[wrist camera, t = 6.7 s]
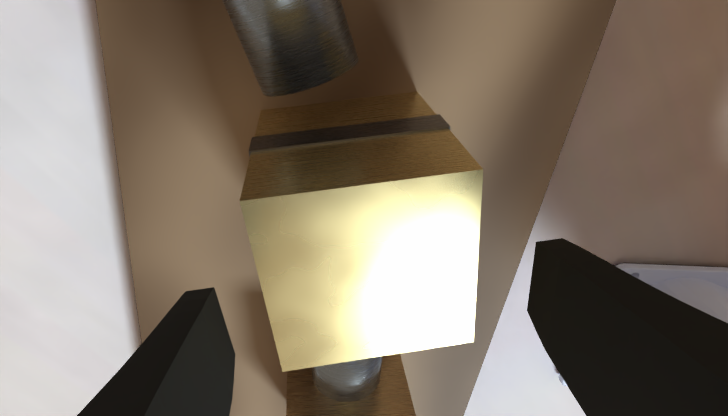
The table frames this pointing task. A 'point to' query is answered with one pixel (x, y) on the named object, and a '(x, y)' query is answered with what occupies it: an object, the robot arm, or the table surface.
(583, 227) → the table surface
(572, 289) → the robot arm
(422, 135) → the tan wooden block
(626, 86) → the table surface
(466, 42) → the board
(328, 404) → the shaft
